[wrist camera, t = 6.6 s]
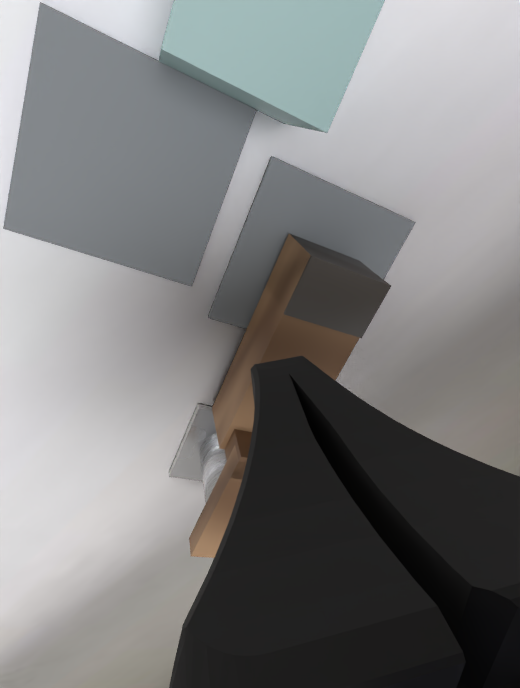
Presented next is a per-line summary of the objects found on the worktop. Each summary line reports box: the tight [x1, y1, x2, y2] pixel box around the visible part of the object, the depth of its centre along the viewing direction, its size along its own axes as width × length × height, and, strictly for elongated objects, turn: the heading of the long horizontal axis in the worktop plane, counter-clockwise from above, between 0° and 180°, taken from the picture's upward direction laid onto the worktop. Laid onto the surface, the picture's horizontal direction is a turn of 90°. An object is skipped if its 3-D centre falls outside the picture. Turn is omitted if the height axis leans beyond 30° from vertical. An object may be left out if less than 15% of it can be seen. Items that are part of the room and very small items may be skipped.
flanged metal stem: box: [169, 404, 227, 503], centre depth 18 cm, size 4×4×3 cm
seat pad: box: [3, 2, 256, 286], centre depth 13 cm, size 6×6×1 cm
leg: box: [189, 233, 391, 558], centre depth 16 cm, size 12×3×4 cm, turn 157°
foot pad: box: [208, 156, 416, 329], centre depth 16 cm, size 6×6×1 cm
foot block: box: [159, 0, 385, 133], centre depth 10 cm, size 4×4×4 cm
